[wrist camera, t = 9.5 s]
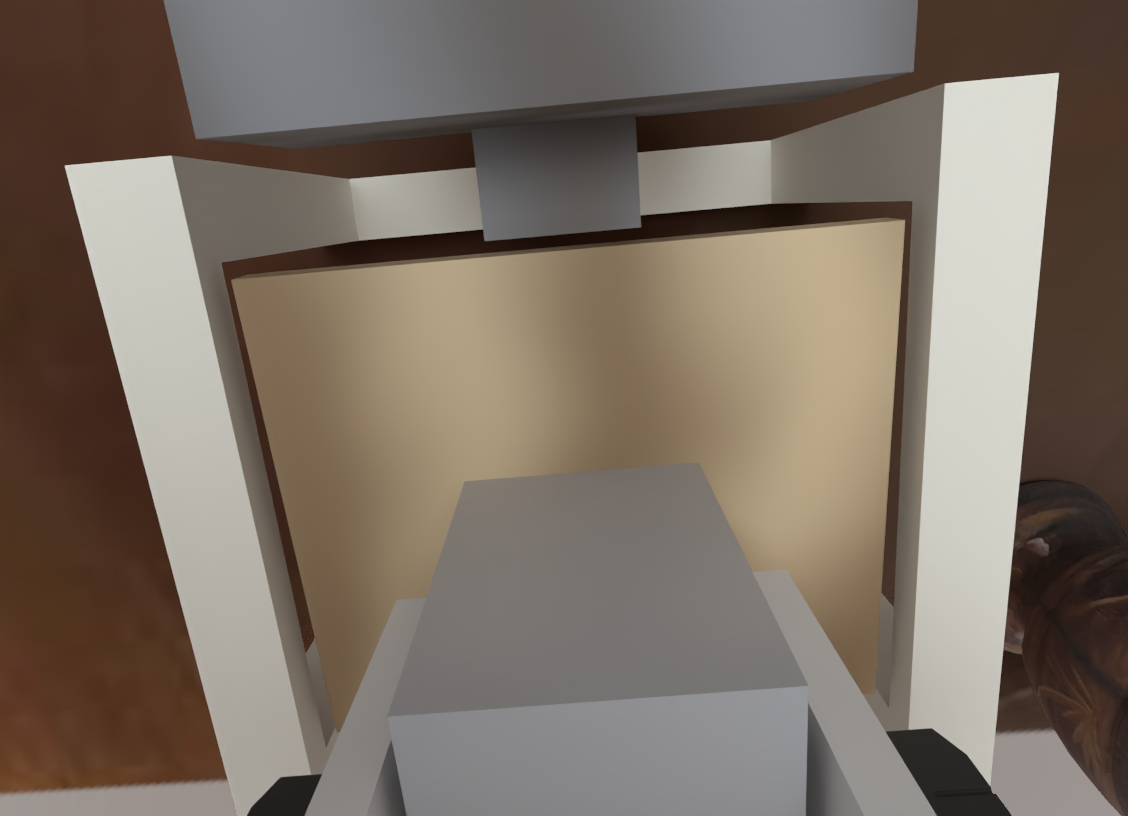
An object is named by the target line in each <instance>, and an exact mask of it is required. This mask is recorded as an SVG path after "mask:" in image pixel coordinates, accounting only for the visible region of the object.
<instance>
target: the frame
mask: <svg viewBox="0 0 1128 816" xmlns="http://www.w3.org/2000/svg"><path fill="white" fill-rule="evenodd" d="M1058 77H1059V73H1052V74H1041V75H1030V76H1020V77H1009V78H998V79H988V80H977V81H966V82H955V83H945V84H942V85H939V86H936V87H933V88H930V89H927V90H923V91H920V92H917V93H914V94H911V95H908V96H905V97H902V98H899V99H896V100H893V101H890V102H887V103H884V104H881V105H878V106H875V107H872V108H868V109H865V110H862V111H859V112H856V113H853V114H850V115H847V116H844V117H841V118H838V119H835V120H832V121H829V122H826V123H823V124H820V125H817V126H813V127H810V128H807V129H804V130H801V131H798V132H795V133H792V134H789V135H786V136H783V137H780V138H777V139H774V140H770V141H759V142H748V143H737V144H727V145H716V146H705V147H694V148H683V149H672V150H661V151H650V152H639V153H637V155H638V175H639V195H640V214H641V215H650V214H661V213H673V212H684V211H695V210H706V209H717V208H728V207H740V206H751V205H762V204H779V203H829V202H878V201H913V206H912V227H911V249H910V270H909V292H908V313H907V335H906V356H905V377H904V399H903V420H902V442H901V463H900V485H899V506H898V528H897V549H896V570H895V592H894V608H893V606H892V605H891V604H890V603H889V601H888V600H887V599H886V598H885V597H884V595H883V594H882V593H881V604H880V620H879V636H878V651H877V667H876V683H875V694H867V695H863V696H864V697H865V699H866V701H867V702H868V704H869V706H870V707H871V709H872V711H873V712H874V714H875V715H876V717H877V719H878V720H879V722H880V724H881V725H882V727H883V728H884V730H885V732H886V731H900V730H914V729H928V728H932V729H934V730H935V731H936V732H938V733H939V734H940V735H942V736H943V737H944V738H946V739H947V740H948V741H949V742H951V743H952V744H953V745H955V746H956V747H957V748H959V749H960V750H961V751H963V752H964V753H965V754H967V755H968V757H969V758H970V760H971V761H972V762H973V764H974V765H975V766H976V768H977V769H978V770H979V772H980V773H981V774H982V776H983V777H984V779H985V780H986V781H987V783H988V784H989V785H990V782H991V771H992V761H993V751H994V740H995V730H996V720H997V709H998V699H999V689H1000V678H1001V668H1002V658H1003V647H1004V637H1005V627H1006V616H1007V606H1008V595H1009V585H1010V575H1011V564H1012V554H1013V544H1014V533H1015V523H1016V512H1017V502H1018V492H1019V481H1020V471H1021V461H1022V450H1023V440H1024V430H1025V419H1026V409H1027V398H1028V388H1029V378H1030V367H1031V357H1032V347H1033V336H1034V326H1035V315H1036V305H1037V295H1038V284H1039V274H1040V264H1041V253H1042V243H1043V233H1044V222H1045V212H1046V201H1047V191H1048V181H1049V170H1050V160H1051V150H1052V139H1053V129H1054V118H1055V108H1056V98H1057V87H1058ZM65 169H66V173H67V177H68V180H69V184H70V188H71V192H72V196H73V199H74V203H75V207H76V211H77V214H78V218H79V222H80V226H81V229H82V233H83V237H84V241H85V245H86V248H87V252H88V256H89V260H90V263H91V267H92V271H93V275H94V278H95V282H96V286H97V290H98V293H99V297H100V301H101V305H102V309H103V312H104V316H105V320H106V324H107V327H108V331H109V335H110V339H111V342H112V346H113V350H114V354H115V357H116V361H117V365H118V369H119V373H120V376H121V380H122V384H123V388H124V391H125V395H126V399H127V403H128V406H129V410H130V414H131V418H132V421H133V425H134V429H135V433H136V437H137V440H138V444H139V448H140V452H141V455H142V459H143V463H144V467H145V470H146V474H147V478H148V482H149V486H150V489H151V493H152V497H153V501H154V504H155V508H156V512H157V516H158V519H159V523H160V527H161V531H162V534H163V538H164V542H165V546H166V550H167V553H168V557H169V561H170V565H171V568H172V572H173V576H174V580H175V583H176V587H177V591H178V595H179V598H180V602H181V606H182V610H183V614H184V617H185V621H186V625H187V629H188V632H189V636H190V640H191V644H192V647H193V651H194V655H195V659H196V662H197V666H198V670H199V674H200V678H201V681H202V685H203V689H204V693H205V696H206V700H207V704H208V708H209V711H210V715H211V719H212V723H213V726H214V730H215V734H216V738H217V742H218V745H219V749H220V753H221V757H222V760H223V764H224V768H225V772H226V775H227V779H228V783H229V787H230V791H231V794H232V798H233V802H234V806H235V809H236V813H237V816H247V814H248V813H249V811H250V809H251V807H252V806H253V805H254V804H255V803H256V802H257V801H258V800H259V799H260V798H261V797H262V796H263V795H264V794H265V793H266V792H267V791H268V790H269V789H270V787H271V786H272V785H273V784H274V783H275V782H276V781H277V780H278V779H279V778H280V777H288V776H302V775H316V774H323V771H324V769H325V767H326V764H327V762H328V759H329V757H330V755H331V752H332V750H333V748H334V745H335V743H336V741H337V738H338V736H339V734H340V732H339V733H337V730H336V726H335V721H334V717H333V713H332V709H331V704H330V700H329V696H328V692H327V687H326V683H325V679H324V674H323V670H322V666H321V662H320V657H319V653H318V649H317V645H316V640H315V639H314V640H313V642H312V644H311V646H310V647H309V649H308V651H307V652H306V653H305V649H304V644H303V639H302V635H301V630H300V625H299V621H298V616H297V612H296V607H295V602H294V598H293V593H292V588H291V584H290V579H289V574H288V570H287V565H286V561H285V556H284V551H283V547H282V542H281V537H280V533H279V528H278V523H277V519H276V514H275V510H274V505H273V500H272V496H271V491H270V486H269V482H268V477H267V472H266V468H265V463H264V459H263V454H262V449H261V445H260V440H259V435H258V431H257V426H256V421H255V417H254V412H253V408H252V403H251V398H250V394H249V389H248V384H247V380H246V375H245V370H244V366H243V361H242V357H241V352H240V347H239V343H238V338H237V333H236V329H235V324H234V319H233V315H232V310H231V306H230V301H229V296H228V292H227V287H226V282H225V278H224V273H223V268H222V264H221V262H228V261H234V260H240V259H246V258H253V257H259V256H265V255H272V254H278V253H284V252H290V251H297V250H303V249H309V248H316V247H322V246H328V245H334V244H341V243H347V242H353V241H360V240H371V239H382V238H394V237H405V236H416V235H427V234H438V233H449V232H461V231H472V230H483V224H482V216H481V207H480V199H479V190H478V182H477V174H476V168H465V169H454V170H443V171H432V172H422V173H411V174H400V175H389V176H378V177H367V178H356V179H344V178H337V177H329V176H321V175H314V174H306V173H299V172H291V171H284V170H276V169H269V168H261V167H254V166H246V165H239V164H231V163H223V162H216V161H208V160H201V159H193V158H186V157H178V156H162V157H151V158H141V159H130V160H119V161H108V162H98V163H87V164H76V165H66V166H65Z"/></svg>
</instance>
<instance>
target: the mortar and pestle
mask: <svg viewBox="0 0 1128 816" xmlns="http://www.w3.org/2000/svg"><path fill="white" fill-rule="evenodd" d="M1003 650H1006V651H1010V652H1013V653H1017V654H1022V655H1023V664H1024V666H1025V669H1026V672H1027V675H1028V678H1029V680H1030V683H1031V686H1032V689H1033V691H1034V694H1035V697H1036V699H1037V701H1038V702H1039V704H1040V706H1041V708H1042V710H1043V711H1044V713H1045V715H1046V717H1047V719H1048V720H1049V722H1050V723H1051V725H1052V726H1053V728H1054V730H1055V731H1056V733H1057V734H1058V736H1059V738H1060V739H1061V741H1062V742H1063V744H1064V745H1065V747H1066V749H1067V751H1068V752H1069V754H1070V755H1071V756H1072V758H1073V759H1074V760H1075V761H1076V763H1077V764H1078V765H1079V766H1080V768H1081V769H1082V770H1083V772H1084V773H1085V774H1086V775H1087V777H1088V778H1089V779H1090V780H1091V782H1092V783H1093V784H1094V785H1095V786H1096V788H1097V789H1098V790H1099V791H1100V792H1101V794H1102V795H1103V796H1104V797H1105V798H1106V799H1107V801H1108V802H1109V803H1110V804H1111V805H1112V806H1113V807H1114V808H1115V809H1116V810H1117V811H1118V812H1119V814H1120V815H1121V816H1128V540H1127V538H1126V536H1125V532H1124V530H1123V529H1122V528H1121V526H1120V524H1119V522H1118V521H1117V519H1116V517H1115V515H1114V513H1113V512H1112V510H1111V509H1110V508H1109V506H1108V505H1107V504H1106V502H1104V501H1103V500H1102V498H1101V497H1099V496H1097V495H1095V494H1093V493H1092V492H1091V491H1090V490H1088V489H1087V488H1085V487H1084V486H1082V485H1079V484H1071V483H1067V482H1063V481H1039V482H1034V483H1029V484H1024V485H1019V492H1018V502H1017V512H1016V523H1015V533H1014V544H1013V554H1012V564H1011V575H1010V585H1009V595H1008V606H1007V616H1006V627H1005V637H1004V647H1003Z"/></svg>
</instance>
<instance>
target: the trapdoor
mask: <svg viewBox="0 0 1128 816" xmlns="http://www.w3.org/2000/svg"><path fill="white" fill-rule="evenodd" d="M164 4H165V9H166V13H167V17H168V21H169V26H170V30H171V34H172V38H173V43H174V47H175V51H176V55H177V60H178V64H179V68H180V72H181V77H182V81H183V85H184V89H185V94H186V98H187V102H188V106H189V111H190V115H191V119H192V123H193V128H194V132H195V136H196V139H202V140H213V141H223V142H233V143H244V144H254V145H264V146H275V147H285V148H296V149H300V148H310V147H321V146H332V145H343V144H353V143H364V142H375V141H386V140H396V139H407V138H418V137H429V136H439V135H450V134H461V133H471V132H472V140H473V149H474V157H475V165H476V174H477V182H478V190H479V199H480V207H481V216H482V224H483V232H484V241H494V240H505V239H516V238H528V237H539V236H550V235H561V234H572V233H584V232H595V231H606V230H617V229H628V228H640V227H641V214H640V195H639V175H638V155H637V135H636V117H643V116H654V115H665V114H676V113H686V112H697V111H708V110H719V109H729V108H740V107H751V106H761V105H772V104H783V103H794V102H804V101H815V100H818V99H821V98H825V97H828V96H832V95H835V94H839V93H842V92H845V91H849V90H852V89H856V88H859V87H863V86H866V85H869V84H873V83H876V82H880V81H883V80H887V79H890V78H893V77H897V76H900V75H904V74H907V73H911V72H914V56H915V40H916V25H917V9H918V0H164ZM904 228H905V220H900V219H893V218H877V219H866V220H855V221H843V222H832V223H821V224H810V225H798V226H787V227H776V228H764V229H753V230H742V231H731V232H719V233H708V234H697V235H686V236H674V237H663V238H652V239H640V240H629V241H618V242H607V243H595V244H584V245H573V246H562V247H550V248H539V249H528V250H516V251H505V252H494V253H483V254H471V255H460V256H449V257H438V258H426V259H415V260H404V261H393V262H381V263H370V264H359V265H347V266H336V267H325V268H314V269H302V270H291V271H280V272H269V273H257V274H248V275H245V276H242V277H238V278H235V279H232V280H231V282H232V286H233V290H234V294H235V299H236V303H237V307H238V311H239V316H240V320H241V324H242V329H243V333H244V337H245V341H246V346H247V350H248V354H249V358H250V363H251V367H252V371H253V376H254V380H255V384H256V388H257V393H258V397H259V401H260V405H261V410H262V414H263V418H264V423H265V427H266V431H267V435H268V440H269V444H270V448H271V452H272V457H273V461H274V465H275V469H276V474H277V478H278V482H279V487H280V491H281V495H282V499H283V504H284V508H285V512H286V516H287V521H288V525H289V529H290V534H291V538H292V542H293V546H294V551H295V555H296V559H297V563H298V568H299V572H300V576H301V581H302V585H303V589H304V593H305V598H306V602H307V606H308V610H309V615H310V619H311V623H312V627H313V632H314V636H315V640H316V645H317V649H318V653H319V657H320V662H321V666H322V670H323V674H324V679H325V683H326V687H327V692H328V696H329V700H330V704H331V709H332V713H333V717H334V721H335V726H336V730H337V733H339V732H340V731H341V729H342V727H343V724H344V722H345V720H346V717H347V715H348V713H349V710H350V708H351V706H352V703H353V701H354V699H355V696H356V694H357V692H358V689H359V687H360V684H361V682H362V680H363V677H364V675H365V673H366V670H367V668H368V666H369V663H370V661H371V659H372V656H373V654H374V652H375V649H376V647H377V645H378V642H379V640H380V638H381V635H382V633H383V631H384V628H385V626H386V624H387V621H388V619H389V617H390V614H391V612H392V609H393V607H394V605H395V602H396V600H397V599H410V598H423V597H427V594H428V591H429V588H430V585H431V582H432V579H433V576H434V573H435V570H436V567H437V564H438V561H439V558H440V555H441V552H442V549H443V546H444V542H445V539H446V536H447V533H448V530H449V527H450V524H451V521H452V518H453V515H454V512H455V509H456V506H457V503H458V500H459V497H460V494H461V491H462V488H463V485H464V482H465V481H475V480H488V479H500V478H513V477H525V476H537V475H550V474H562V473H574V472H587V471H599V470H612V469H624V468H636V467H649V466H661V465H673V464H686V463H698V462H699V464H700V466H701V468H702V470H703V472H704V474H705V476H706V478H707V480H708V482H709V484H710V486H711V488H712V490H713V493H714V495H715V497H716V499H717V501H718V503H719V505H720V507H721V509H722V511H723V513H724V515H725V517H726V519H727V521H728V523H729V525H730V527H731V529H732V531H733V533H734V535H735V537H736V539H737V541H738V543H739V545H740V547H741V549H742V552H743V554H744V556H745V558H746V560H747V562H748V564H749V566H750V568H751V570H752V572H760V571H773V570H787V572H788V573H789V575H790V577H791V578H792V580H793V581H794V583H795V585H796V586H797V588H798V590H799V591H800V593H801V594H802V596H803V598H804V599H805V601H806V603H807V604H808V606H809V608H810V609H811V611H812V612H813V614H814V616H815V617H816V619H817V621H818V622H819V624H820V626H821V627H822V629H823V630H824V632H825V634H826V635H827V637H828V639H829V640H830V642H831V644H832V645H833V647H834V648H835V650H836V652H837V653H838V655H839V657H840V658H841V660H842V661H843V663H844V665H845V666H846V668H847V670H848V671H849V673H850V675H851V676H852V678H853V679H854V681H855V683H856V684H857V686H858V688H859V689H860V691H861V693H862V694H863V695H867V694H875V683H876V667H877V651H878V636H879V620H880V604H881V589H882V573H883V557H884V542H885V526H886V510H887V495H888V479H889V463H890V448H891V432H892V416H893V401H894V385H895V369H896V354H897V338H898V322H899V307H900V291H901V275H902V260H903V244H904Z"/></svg>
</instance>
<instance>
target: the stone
mask: <svg viewBox="0 0 1128 816" xmlns="http://www.w3.org/2000/svg"><path fill="white" fill-rule="evenodd" d="M808 688H809V686H808V684H807V682H806V680H805V678H804V676H803V674H802V672H801V670H800V668H799V665H798V663H797V661H796V659H795V657H794V655H793V653H792V651H791V649H790V647H789V645H788V643H787V641H786V639H785V637H784V635H783V633H782V631H781V629H780V627H779V625H778V623H777V621H776V619H775V617H774V615H773V613H772V611H771V609H770V606H769V604H768V602H767V600H766V598H765V596H764V594H763V592H762V590H761V588H760V586H759V584H758V582H757V580H756V578H755V576H754V574H753V572H752V570H751V568H750V566H749V564H748V562H747V560H746V558H745V556H744V554H743V552H742V549H741V547H740V545H739V543H738V541H737V539H736V537H735V535H734V533H733V531H732V529H731V527H730V525H729V523H728V521H727V519H726V517H725V515H724V513H723V511H722V509H721V507H720V505H719V503H718V501H717V499H716V497H715V495H714V493H713V490H712V488H711V486H710V484H709V482H708V480H707V478H706V476H705V474H704V472H703V470H702V468H701V466H700V464H699V462H698V463H686V464H673V465H661V466H649V467H636V468H624V469H612V470H599V471H587V472H574V473H562V474H550V475H537V476H525V477H513V478H500V479H488V480H475V481H465V482H464V485H463V488H462V491H461V494H460V497H459V500H458V503H457V506H456V509H455V512H454V515H453V518H452V521H451V524H450V527H449V530H448V533H447V536H446V539H445V542H444V546H443V549H442V552H441V555H440V558H439V561H438V564H437V567H436V570H435V573H434V576H433V579H432V582H431V585H430V588H429V591H428V594H427V597H426V600H425V603H424V606H423V609H422V612H421V615H420V618H419V621H418V624H417V628H416V631H415V634H414V637H413V640H412V643H411V646H410V649H409V652H408V655H407V658H406V661H405V664H404V667H403V670H402V673H401V676H400V679H399V682H398V685H397V688H396V691H395V694H394V697H393V700H392V703H391V706H390V709H389V713H388V716H387V719H388V724H389V729H390V734H391V739H392V744H393V749H394V754H395V759H396V764H397V769H398V774H399V780H400V785H401V790H402V795H403V800H404V805H405V810H406V815H407V816H806V780H807V734H808Z"/></svg>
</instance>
